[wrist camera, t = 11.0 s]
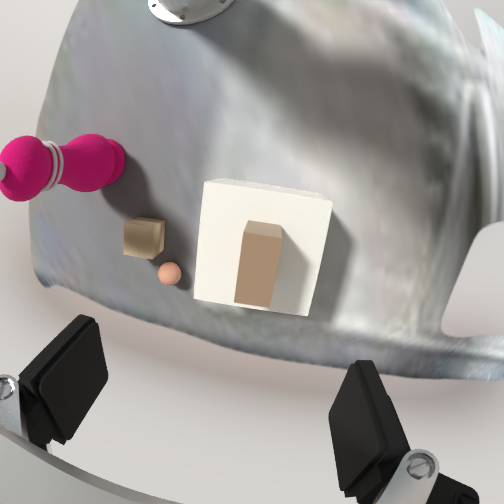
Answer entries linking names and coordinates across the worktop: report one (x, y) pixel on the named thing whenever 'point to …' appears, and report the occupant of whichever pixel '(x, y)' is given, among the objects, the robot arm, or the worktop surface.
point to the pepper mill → (58, 165)
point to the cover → (260, 245)
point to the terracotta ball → (169, 273)
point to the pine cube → (144, 237)
